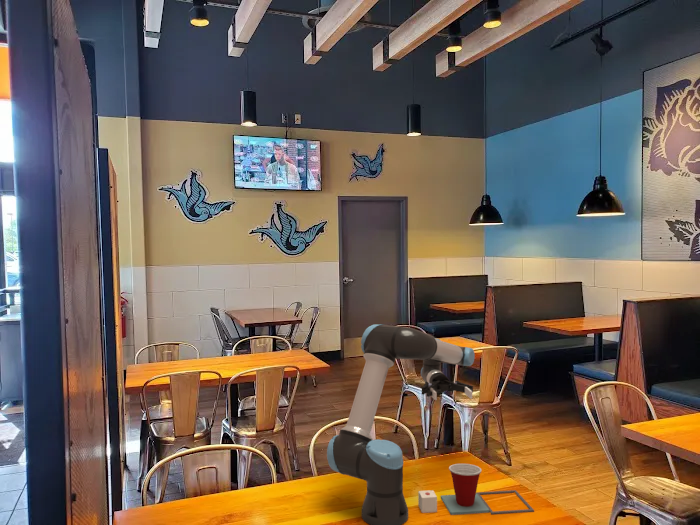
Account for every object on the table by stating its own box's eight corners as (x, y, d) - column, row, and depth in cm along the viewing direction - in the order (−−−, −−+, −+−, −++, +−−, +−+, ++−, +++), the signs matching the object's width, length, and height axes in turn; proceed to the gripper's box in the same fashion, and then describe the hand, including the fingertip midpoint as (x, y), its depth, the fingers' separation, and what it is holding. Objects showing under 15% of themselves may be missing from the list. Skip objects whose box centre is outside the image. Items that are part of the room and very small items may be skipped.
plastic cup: (478, 495, 190) (478, 461, 189) (484, 510, 179) (484, 474, 178) (447, 494, 190) (447, 460, 190) (450, 509, 180) (450, 473, 179)
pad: (450, 514, 178) (450, 512, 178) (440, 497, 190) (440, 495, 190) (489, 512, 179) (489, 510, 179) (476, 495, 191) (476, 493, 191)
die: (422, 512, 179) (422, 497, 179) (418, 505, 184) (418, 490, 184) (436, 511, 180) (436, 496, 180) (432, 504, 185) (432, 489, 185)
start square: (491, 514, 178) (491, 512, 178) (476, 493, 193) (476, 492, 192) (534, 511, 180) (534, 510, 180) (515, 491, 194) (515, 490, 194)
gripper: (467, 389, 225) (486, 404, 204) (408, 391, 222) (420, 407, 201) (467, 371, 224) (486, 384, 203) (408, 373, 222) (420, 386, 201)
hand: (453, 395), depth 202 cm, fingers open, 13 cm apart
